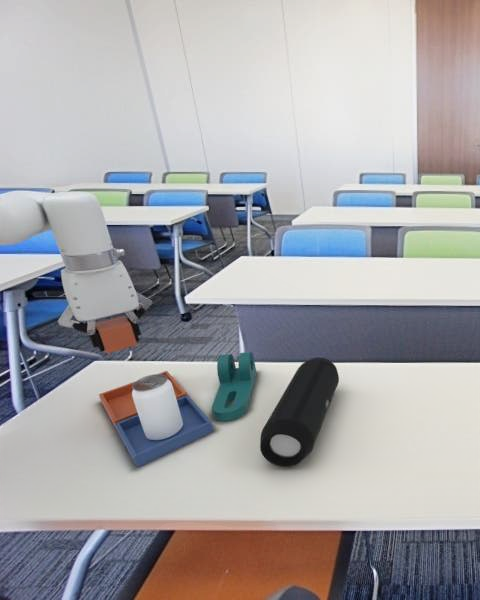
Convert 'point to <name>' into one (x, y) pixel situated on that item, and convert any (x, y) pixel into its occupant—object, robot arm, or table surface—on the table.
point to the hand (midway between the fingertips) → (118, 343)
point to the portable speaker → (299, 413)
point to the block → (116, 334)
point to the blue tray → (150, 449)
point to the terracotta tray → (129, 400)
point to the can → (157, 407)
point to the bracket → (234, 386)
